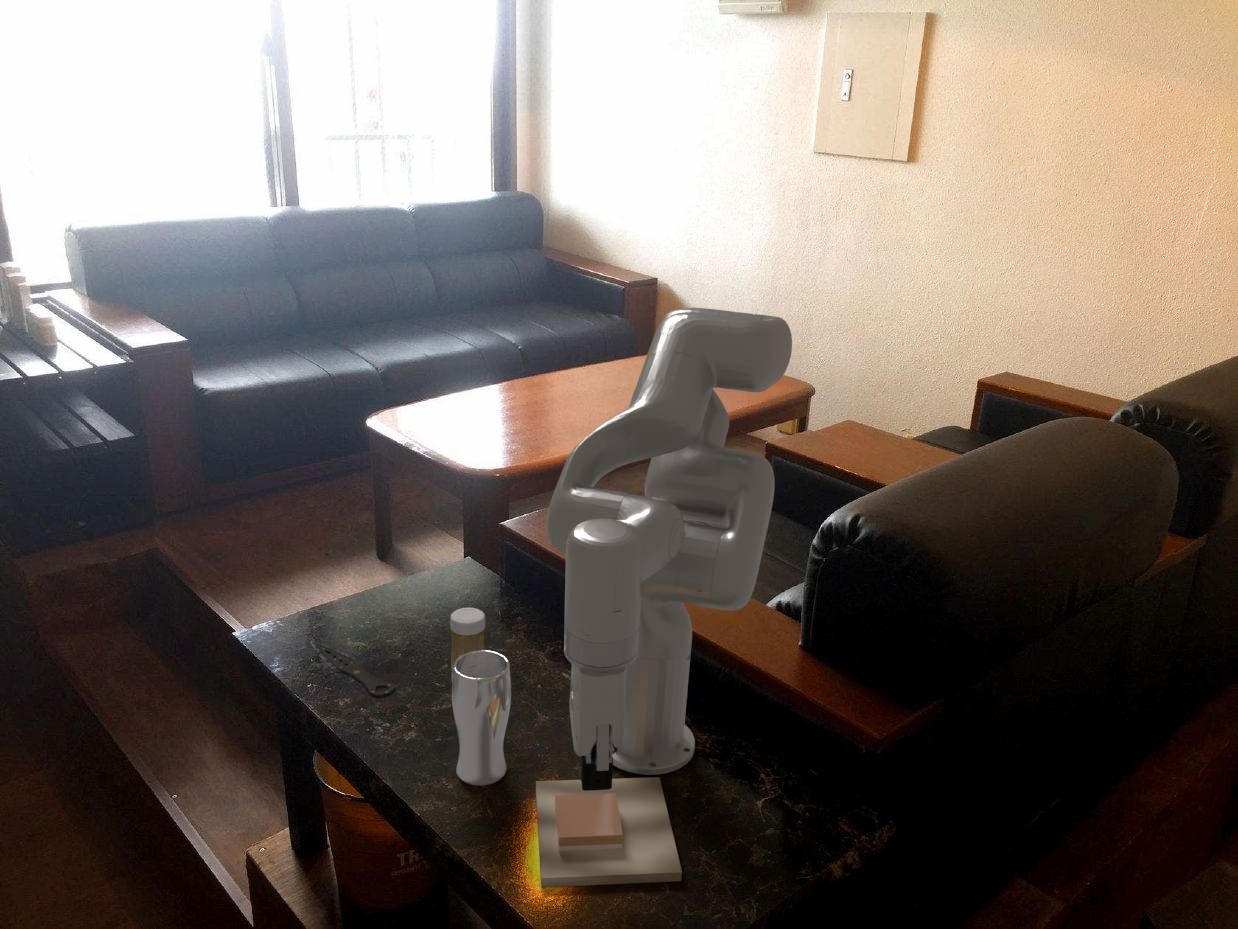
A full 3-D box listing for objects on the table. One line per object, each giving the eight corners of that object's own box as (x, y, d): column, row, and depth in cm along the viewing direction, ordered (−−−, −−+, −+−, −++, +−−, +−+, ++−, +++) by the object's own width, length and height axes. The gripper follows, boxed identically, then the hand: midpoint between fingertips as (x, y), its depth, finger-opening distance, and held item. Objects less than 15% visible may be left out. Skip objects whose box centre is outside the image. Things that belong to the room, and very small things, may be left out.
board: (535, 789, 123) (535, 781, 122) (658, 785, 124) (659, 777, 124) (541, 887, 108) (541, 878, 107) (681, 881, 110) (681, 872, 109)
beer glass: (456, 792, 121) (455, 683, 116) (449, 756, 128) (448, 652, 123) (514, 784, 123) (516, 677, 118) (504, 750, 130) (506, 646, 124)
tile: (558, 851, 111) (554, 808, 118) (622, 848, 112) (615, 806, 119) (558, 837, 111) (555, 795, 117) (622, 835, 112) (615, 793, 118)
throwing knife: (375, 702, 138) (374, 698, 138) (295, 646, 151) (295, 642, 151) (401, 690, 142) (401, 687, 141) (321, 636, 154) (321, 633, 154)
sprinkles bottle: (452, 692, 141) (451, 606, 136) (485, 692, 142) (485, 606, 137) (450, 711, 137) (449, 623, 132) (484, 711, 137) (484, 623, 133)
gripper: (559, 602, 109) (557, 742, 116) (569, 683, 96) (565, 837, 103) (629, 600, 110) (622, 740, 117) (648, 680, 97) (639, 833, 104)
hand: (596, 785), depth 110 cm, fingers closed
